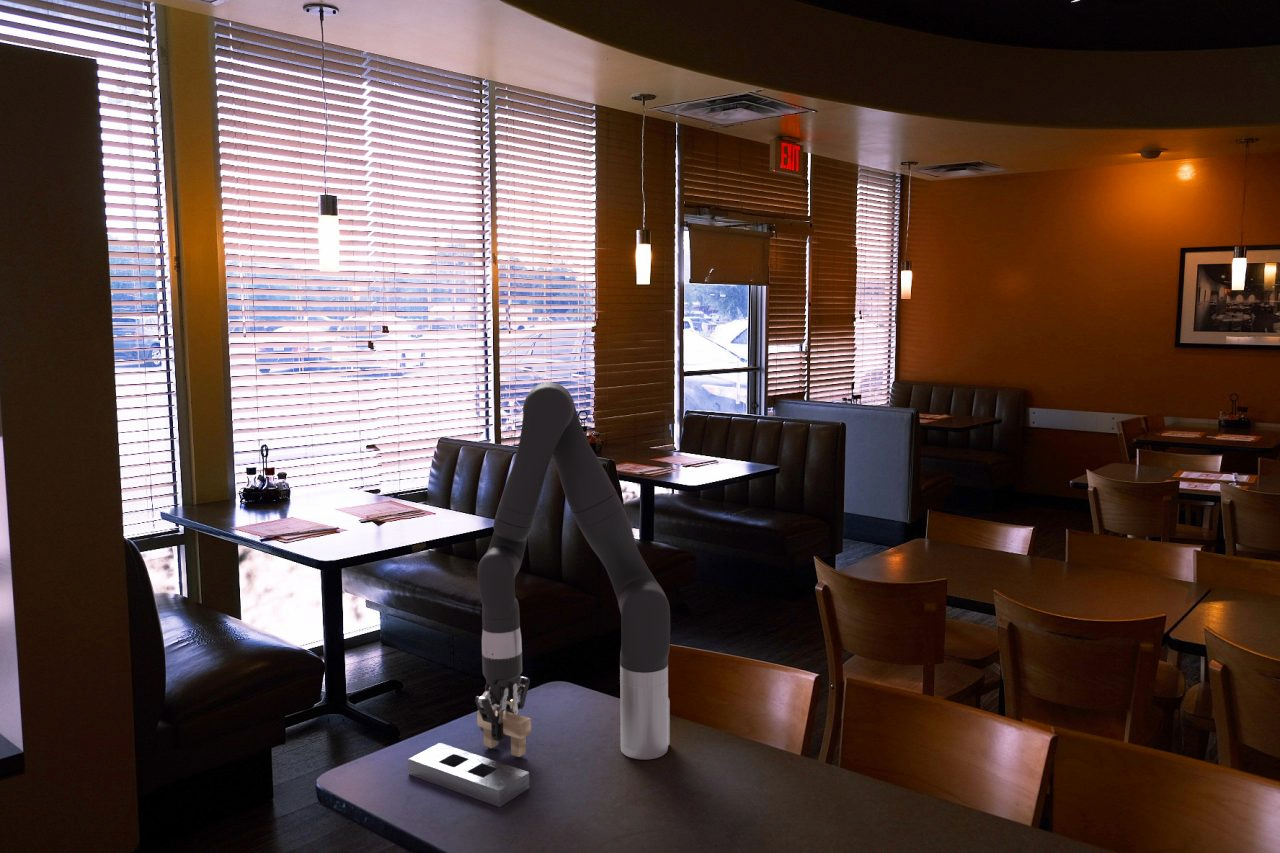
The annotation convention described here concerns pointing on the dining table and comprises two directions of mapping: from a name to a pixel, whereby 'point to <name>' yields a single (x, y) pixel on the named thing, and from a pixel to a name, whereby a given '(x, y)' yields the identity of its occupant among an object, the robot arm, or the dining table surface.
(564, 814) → the dining table surface
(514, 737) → the wooden peg block
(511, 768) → the grey block with holes
